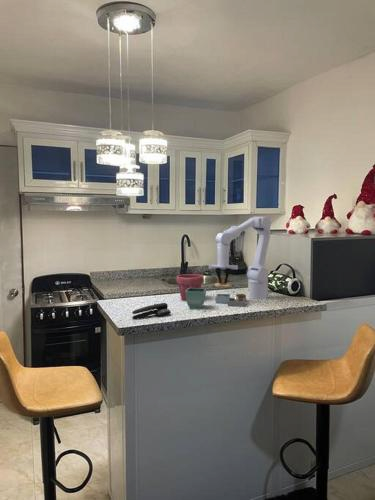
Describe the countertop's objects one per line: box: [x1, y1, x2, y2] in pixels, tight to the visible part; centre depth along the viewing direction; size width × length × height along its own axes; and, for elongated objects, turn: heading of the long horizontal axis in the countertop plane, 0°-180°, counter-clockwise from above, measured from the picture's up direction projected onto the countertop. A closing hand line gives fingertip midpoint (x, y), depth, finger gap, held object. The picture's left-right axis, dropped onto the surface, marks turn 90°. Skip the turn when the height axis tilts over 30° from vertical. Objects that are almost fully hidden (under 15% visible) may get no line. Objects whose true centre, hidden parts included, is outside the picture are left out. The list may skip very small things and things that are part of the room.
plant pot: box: [176, 273, 204, 302], centre depth 208 cm, size 14×14×13 cm
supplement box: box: [247, 265, 269, 294], centre depth 229 cm, size 9×9×15 cm
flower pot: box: [185, 287, 207, 310], centre depth 189 cm, size 9×9×9 cm
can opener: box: [132, 302, 172, 320], centre depth 173 cm, size 18×7×6 cm, turn 119°
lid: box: [214, 277, 232, 288], centre depth 199 cm, size 8×8×4 cm
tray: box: [227, 297, 246, 308], centre depth 194 cm, size 8×8×3 cm
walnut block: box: [235, 293, 247, 303], centre depth 202 cm, size 4×4×4 cm
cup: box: [215, 293, 231, 305], centre depth 200 cm, size 7×7×4 cm
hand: (223, 283), depth 199 cm, fingers closed on lid, 2 cm apart
